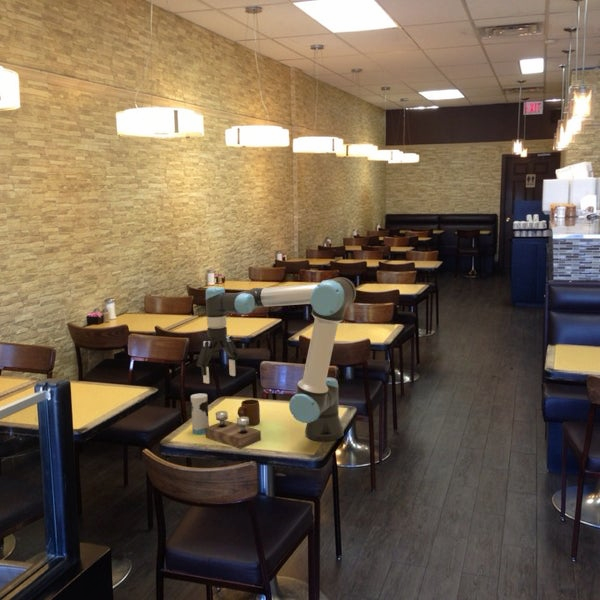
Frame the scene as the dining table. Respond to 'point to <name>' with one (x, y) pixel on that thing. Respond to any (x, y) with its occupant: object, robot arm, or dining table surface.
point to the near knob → (243, 423)
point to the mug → (250, 411)
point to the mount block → (233, 434)
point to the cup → (199, 413)
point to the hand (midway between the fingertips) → (219, 379)
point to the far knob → (222, 417)
